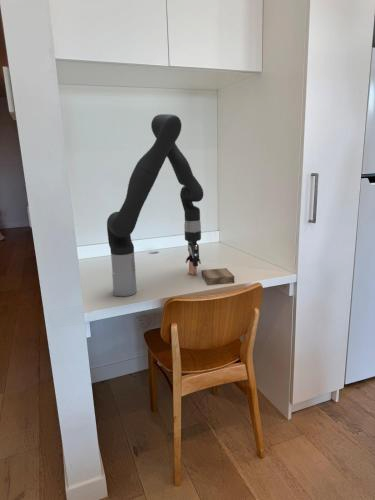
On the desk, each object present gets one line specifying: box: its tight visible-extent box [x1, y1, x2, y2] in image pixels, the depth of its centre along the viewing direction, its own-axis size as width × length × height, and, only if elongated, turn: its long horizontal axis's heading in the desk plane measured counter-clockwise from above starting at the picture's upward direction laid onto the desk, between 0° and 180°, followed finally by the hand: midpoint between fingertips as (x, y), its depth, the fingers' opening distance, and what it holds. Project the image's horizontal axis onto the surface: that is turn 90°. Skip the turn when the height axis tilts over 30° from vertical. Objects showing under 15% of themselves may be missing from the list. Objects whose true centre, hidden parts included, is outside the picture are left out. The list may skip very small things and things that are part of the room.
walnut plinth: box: [200, 267, 235, 286], centre depth 155 cm, size 12×12×3 cm
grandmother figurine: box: [185, 251, 202, 276], centre depth 162 cm, size 8×4×13 cm, turn 82°
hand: (193, 263), depth 162 cm, fingers open, 8 cm apart
